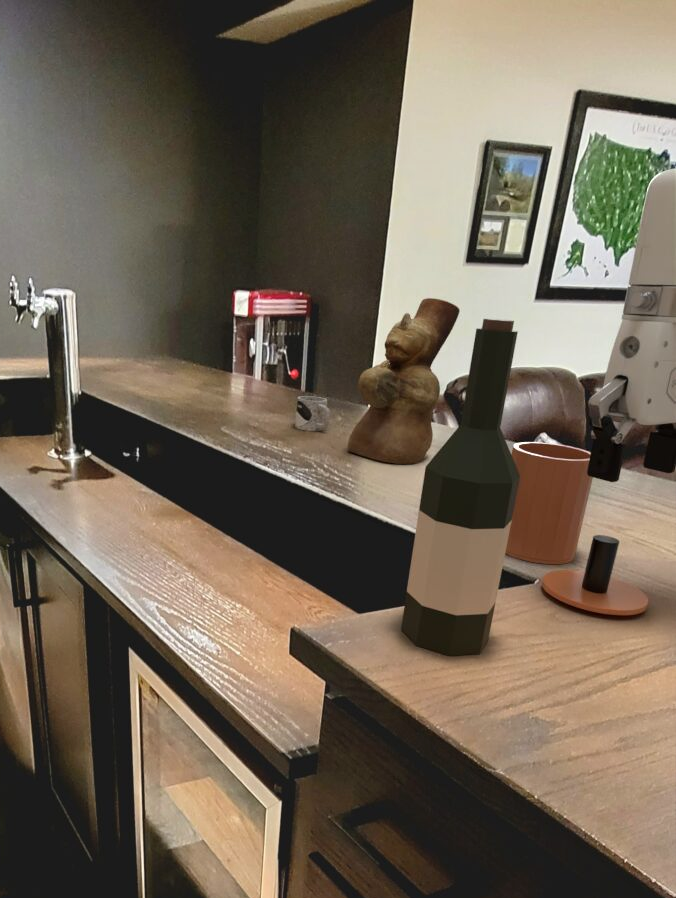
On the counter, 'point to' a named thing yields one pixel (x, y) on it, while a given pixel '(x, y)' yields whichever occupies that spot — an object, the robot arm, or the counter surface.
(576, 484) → the cup
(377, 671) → the counter surface
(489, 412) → the wine bottle
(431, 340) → the ceramic vessel
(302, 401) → the mug
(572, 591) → the shaker lid
